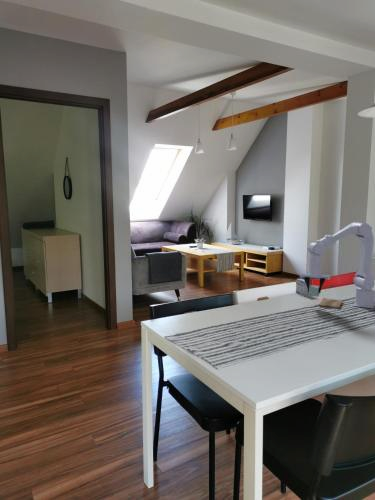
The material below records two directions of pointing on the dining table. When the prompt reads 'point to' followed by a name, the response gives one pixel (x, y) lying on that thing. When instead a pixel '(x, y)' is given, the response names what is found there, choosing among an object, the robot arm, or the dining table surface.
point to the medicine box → (301, 287)
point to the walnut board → (331, 303)
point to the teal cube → (314, 290)
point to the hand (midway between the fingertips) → (314, 292)
